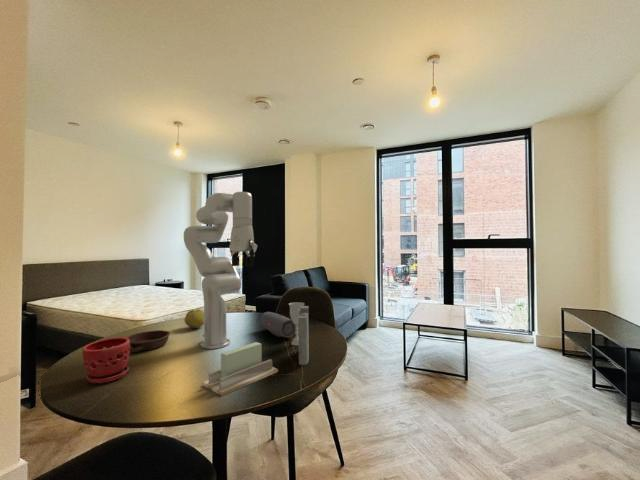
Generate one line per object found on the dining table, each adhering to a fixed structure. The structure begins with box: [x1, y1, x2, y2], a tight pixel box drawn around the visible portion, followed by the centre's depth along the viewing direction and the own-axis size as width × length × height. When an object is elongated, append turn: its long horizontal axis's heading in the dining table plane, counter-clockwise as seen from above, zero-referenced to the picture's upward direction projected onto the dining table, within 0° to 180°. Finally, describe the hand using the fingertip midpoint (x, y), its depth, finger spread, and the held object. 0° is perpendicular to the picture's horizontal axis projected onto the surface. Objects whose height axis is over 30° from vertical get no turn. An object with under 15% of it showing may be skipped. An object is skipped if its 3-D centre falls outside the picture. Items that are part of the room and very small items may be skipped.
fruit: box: [184, 308, 204, 329], centre depth 164 cm, size 11×12×10 cm
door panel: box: [220, 341, 263, 378], centre depth 101 cm, size 3×14×9 cm, turn 140°
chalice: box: [288, 301, 305, 346], centre depth 136 cm, size 7×7×18 cm
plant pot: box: [82, 337, 131, 384], centre depth 102 cm, size 13×13×12 cm
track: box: [202, 358, 279, 397], centre depth 101 cm, size 11×22×4 cm, turn 140°
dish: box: [126, 329, 171, 353], centre depth 135 cm, size 18×22×5 cm
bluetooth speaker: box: [259, 311, 296, 338], centre depth 151 cm, size 23×9×10 cm, turn 36°
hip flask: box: [298, 305, 310, 366], centre depth 119 cm, size 16×4×20 cm, turn 3°
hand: (242, 266), depth 119 cm, fingers open, 9 cm apart
